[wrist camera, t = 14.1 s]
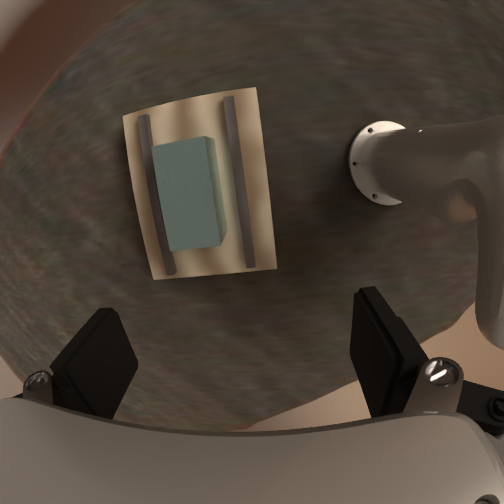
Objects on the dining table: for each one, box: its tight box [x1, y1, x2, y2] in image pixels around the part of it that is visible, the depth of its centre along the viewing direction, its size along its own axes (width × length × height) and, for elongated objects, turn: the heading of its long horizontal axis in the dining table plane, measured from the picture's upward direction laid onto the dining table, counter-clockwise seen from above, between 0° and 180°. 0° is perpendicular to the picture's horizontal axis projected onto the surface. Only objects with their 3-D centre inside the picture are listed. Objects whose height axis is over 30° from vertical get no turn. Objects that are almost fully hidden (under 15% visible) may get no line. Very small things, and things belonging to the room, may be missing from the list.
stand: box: [123, 87, 277, 280], centre depth 36 cm, size 18×24×5 cm
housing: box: [151, 136, 228, 251], centre depth 31 cm, size 12×6×6 cm, turn 7°
